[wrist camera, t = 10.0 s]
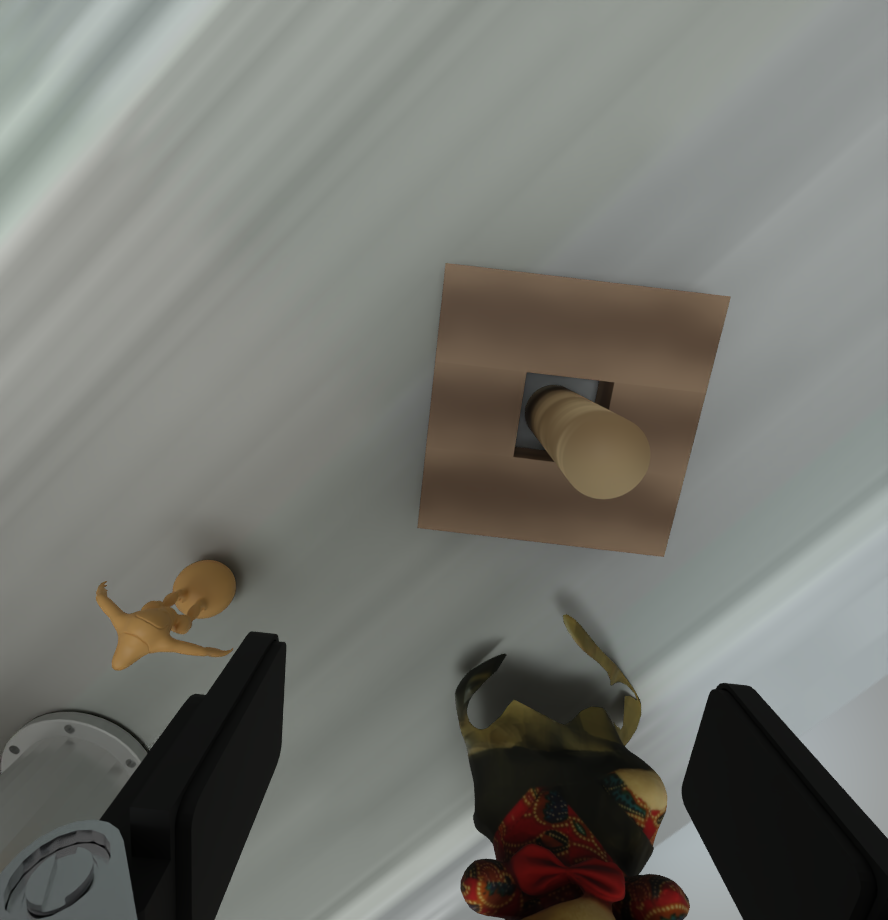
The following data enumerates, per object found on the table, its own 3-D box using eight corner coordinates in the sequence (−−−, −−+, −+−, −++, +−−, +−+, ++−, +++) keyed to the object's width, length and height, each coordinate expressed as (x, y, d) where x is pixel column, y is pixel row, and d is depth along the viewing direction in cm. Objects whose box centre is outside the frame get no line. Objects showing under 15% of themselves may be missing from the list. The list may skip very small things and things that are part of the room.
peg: (574, 442, 32) (640, 503, 20) (521, 435, 32) (556, 494, 20) (584, 388, 31) (659, 421, 19) (529, 382, 31) (571, 411, 19)
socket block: (646, 537, 34) (663, 556, 31) (421, 511, 34) (417, 527, 31) (703, 300, 29) (730, 296, 26) (447, 270, 29) (445, 263, 26)
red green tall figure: (694, 643, 34) (1080, 1451, 12) (586, 763, 42) (700, 1376, 20) (497, 584, 32) (532, 1385, 11) (424, 720, 40) (359, 1333, 19)
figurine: (157, 567, 35) (10, 681, 24) (190, 503, 34) (51, 591, 22) (256, 621, 36) (162, 756, 25) (292, 561, 35) (210, 674, 23)
